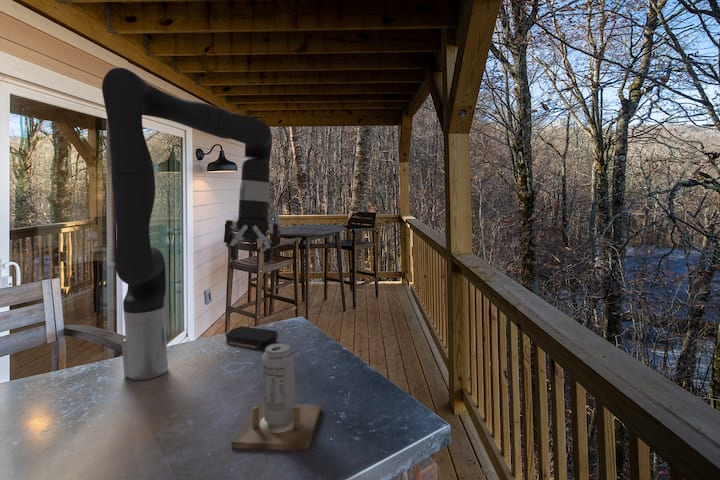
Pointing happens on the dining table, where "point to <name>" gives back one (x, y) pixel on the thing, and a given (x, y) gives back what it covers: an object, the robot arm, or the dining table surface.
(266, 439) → the pin base
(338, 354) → the dining table surface
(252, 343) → the black sponge
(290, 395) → the energy drink can
